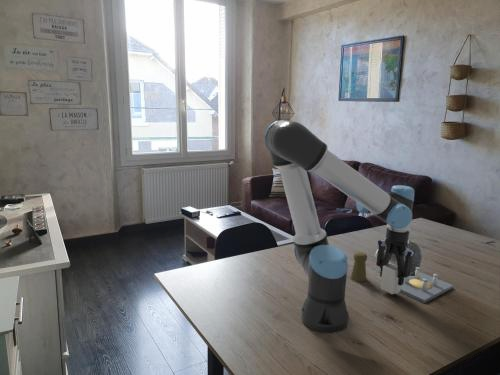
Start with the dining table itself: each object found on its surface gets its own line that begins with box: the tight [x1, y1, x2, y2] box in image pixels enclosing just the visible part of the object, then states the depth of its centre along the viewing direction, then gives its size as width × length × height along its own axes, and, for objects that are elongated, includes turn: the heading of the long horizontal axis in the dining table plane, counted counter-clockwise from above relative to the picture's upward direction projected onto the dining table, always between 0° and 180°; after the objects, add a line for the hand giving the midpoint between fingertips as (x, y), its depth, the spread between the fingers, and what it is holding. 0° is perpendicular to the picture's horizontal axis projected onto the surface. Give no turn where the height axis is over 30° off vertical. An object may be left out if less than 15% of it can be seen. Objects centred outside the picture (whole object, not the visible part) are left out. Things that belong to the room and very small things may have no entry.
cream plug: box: [379, 262, 398, 295], centre depth 136 cm, size 5×5×9 cm
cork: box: [350, 251, 368, 283], centre depth 148 cm, size 6×6×11 cm
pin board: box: [399, 266, 454, 304], centre depth 142 cm, size 20×15×6 cm
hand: (390, 288), depth 137 cm, fingers closed on cream plug, 5 cm apart
